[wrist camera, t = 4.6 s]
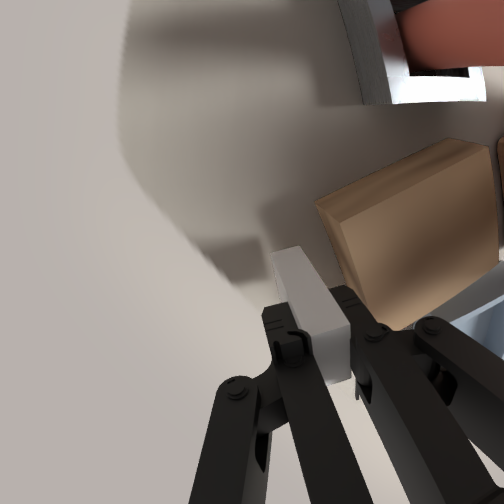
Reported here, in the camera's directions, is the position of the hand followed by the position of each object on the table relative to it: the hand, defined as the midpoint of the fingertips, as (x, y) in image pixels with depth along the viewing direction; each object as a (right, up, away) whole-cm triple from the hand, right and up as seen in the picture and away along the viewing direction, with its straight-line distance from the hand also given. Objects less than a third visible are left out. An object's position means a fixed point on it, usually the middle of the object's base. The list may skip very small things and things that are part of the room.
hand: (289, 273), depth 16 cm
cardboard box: (+8, +3, +2) cm, 8 cm away
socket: (+7, +13, -3) cm, 15 cm away
